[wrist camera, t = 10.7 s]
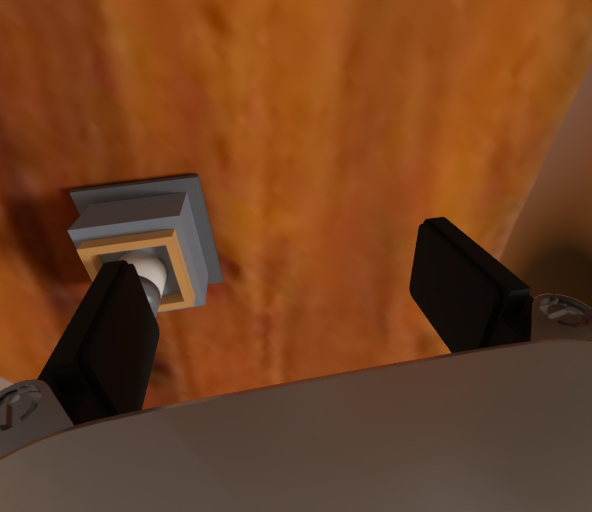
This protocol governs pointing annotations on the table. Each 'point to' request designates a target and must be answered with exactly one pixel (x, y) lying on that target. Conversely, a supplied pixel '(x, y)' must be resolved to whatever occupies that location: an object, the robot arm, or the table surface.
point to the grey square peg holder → (150, 233)
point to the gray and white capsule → (149, 275)
